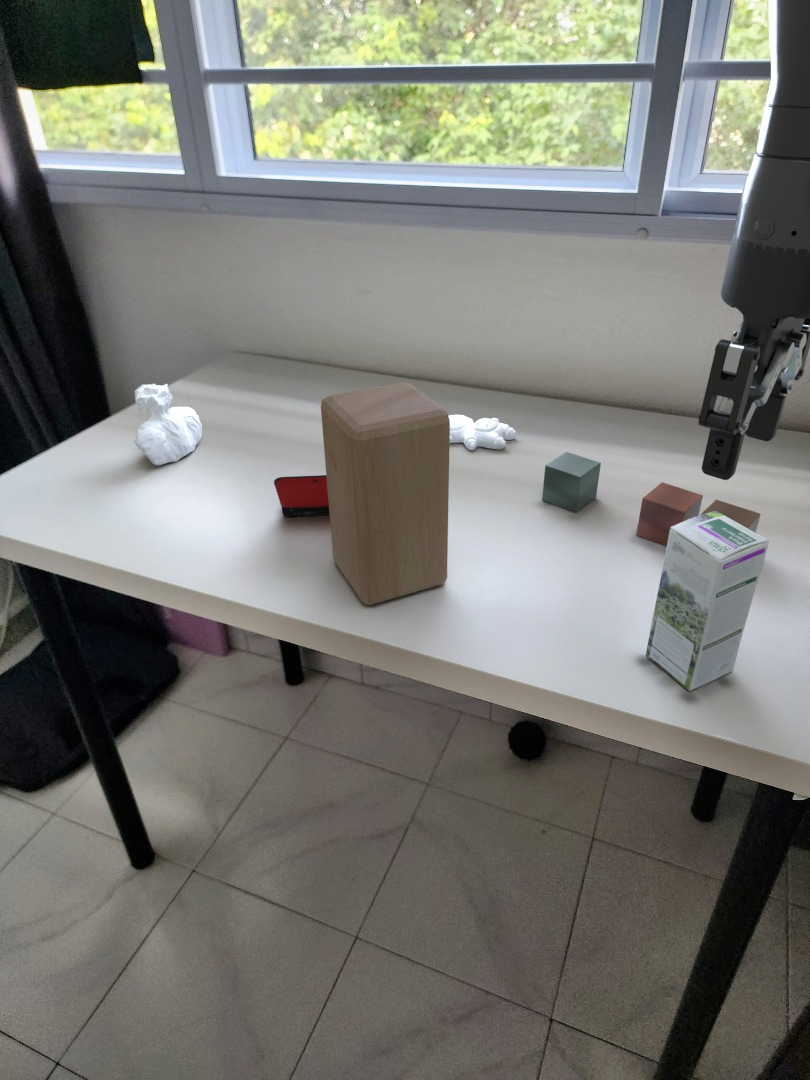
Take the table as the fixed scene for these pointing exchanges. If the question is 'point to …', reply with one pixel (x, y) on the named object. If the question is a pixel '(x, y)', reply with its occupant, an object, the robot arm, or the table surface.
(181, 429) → the bust
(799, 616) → the table surface
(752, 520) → the block line
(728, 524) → the syrup box
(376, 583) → the wooden block
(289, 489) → the handheld console
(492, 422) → the astronaut figurine
